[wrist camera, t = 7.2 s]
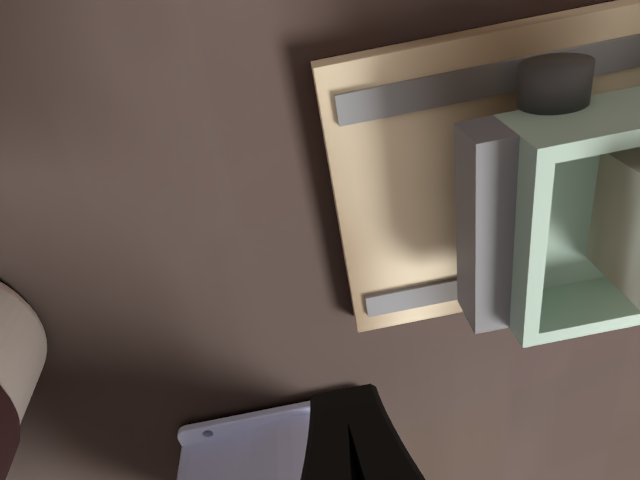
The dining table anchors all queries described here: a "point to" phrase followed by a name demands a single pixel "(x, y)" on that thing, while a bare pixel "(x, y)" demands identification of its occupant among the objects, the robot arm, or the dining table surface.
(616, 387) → the dining table surface
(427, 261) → the track board
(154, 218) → the dining table surface
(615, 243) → the block
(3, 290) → the coffee cup
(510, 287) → the cart
